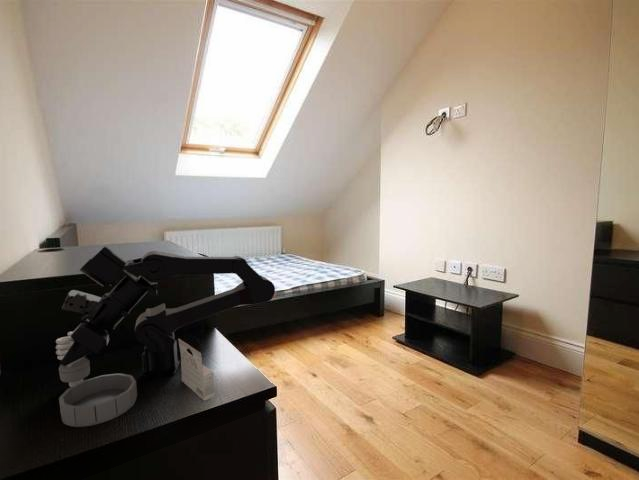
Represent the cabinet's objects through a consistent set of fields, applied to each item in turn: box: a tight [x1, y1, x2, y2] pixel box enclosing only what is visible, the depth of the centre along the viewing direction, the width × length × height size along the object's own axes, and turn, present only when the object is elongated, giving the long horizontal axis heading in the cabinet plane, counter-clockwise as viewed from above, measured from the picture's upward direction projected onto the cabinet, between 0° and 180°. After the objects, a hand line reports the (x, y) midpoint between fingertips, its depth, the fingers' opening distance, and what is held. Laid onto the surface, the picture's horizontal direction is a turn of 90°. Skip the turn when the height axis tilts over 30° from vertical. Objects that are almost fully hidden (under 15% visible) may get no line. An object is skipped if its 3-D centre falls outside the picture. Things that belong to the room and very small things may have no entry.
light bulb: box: [55, 331, 91, 388], centre depth 73 cm, size 6×6×12 cm
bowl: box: [58, 372, 138, 428], centre depth 67 cm, size 12×12×4 cm
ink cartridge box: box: [177, 338, 215, 402], centre depth 72 cm, size 2×11×10 cm, turn 43°
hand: (65, 358), depth 73 cm, fingers closed on light bulb, 5 cm apart
